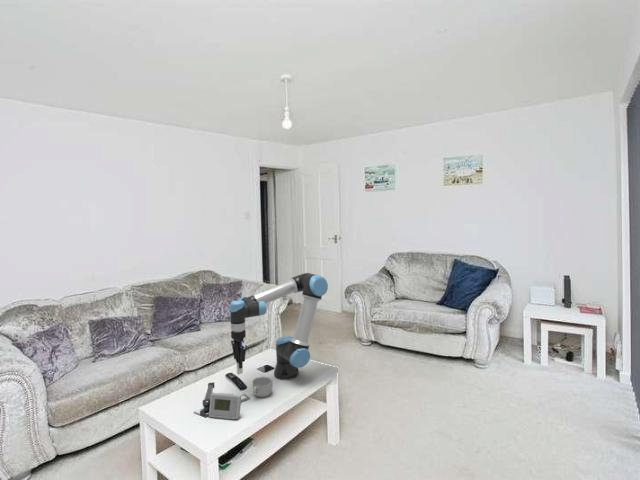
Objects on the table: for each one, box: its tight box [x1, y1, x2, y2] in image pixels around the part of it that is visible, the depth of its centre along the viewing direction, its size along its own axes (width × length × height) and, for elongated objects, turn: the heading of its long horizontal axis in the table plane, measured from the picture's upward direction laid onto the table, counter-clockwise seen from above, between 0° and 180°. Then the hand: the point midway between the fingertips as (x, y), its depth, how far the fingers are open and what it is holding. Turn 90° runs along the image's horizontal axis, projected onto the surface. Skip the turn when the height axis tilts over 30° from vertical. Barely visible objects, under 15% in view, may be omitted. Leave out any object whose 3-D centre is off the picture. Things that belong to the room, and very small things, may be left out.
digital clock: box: [208, 392, 242, 421], centre depth 180 cm, size 16×9×11 cm, turn 67°
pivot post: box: [199, 406, 210, 417], centre depth 183 cm, size 7×7×4 cm
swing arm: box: [202, 382, 215, 407], centre depth 192 cm, size 22×4×2 cm, turn 10°
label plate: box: [240, 393, 251, 403], centre depth 196 cm, size 8×6×1 cm
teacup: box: [252, 376, 273, 398], centre depth 199 cm, size 14×11×8 cm
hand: (239, 373), depth 195 cm, fingers closed
